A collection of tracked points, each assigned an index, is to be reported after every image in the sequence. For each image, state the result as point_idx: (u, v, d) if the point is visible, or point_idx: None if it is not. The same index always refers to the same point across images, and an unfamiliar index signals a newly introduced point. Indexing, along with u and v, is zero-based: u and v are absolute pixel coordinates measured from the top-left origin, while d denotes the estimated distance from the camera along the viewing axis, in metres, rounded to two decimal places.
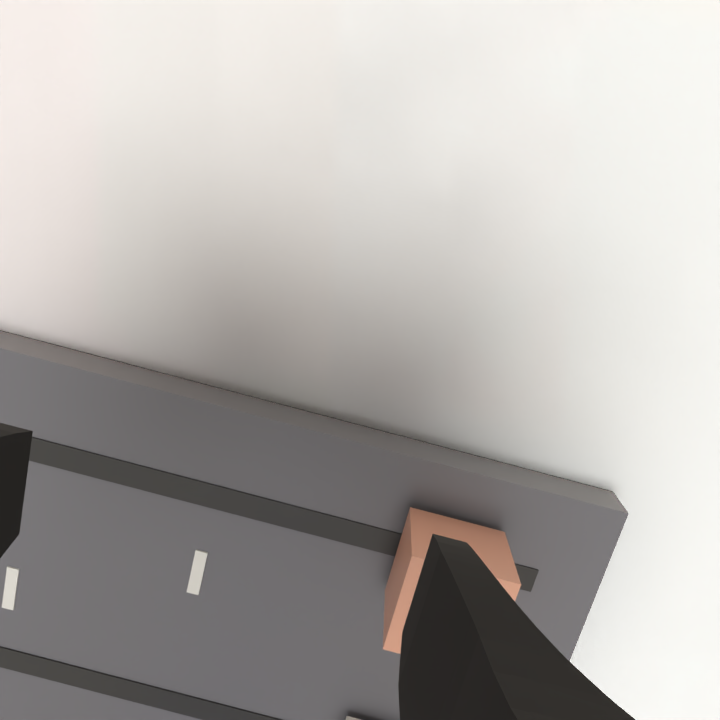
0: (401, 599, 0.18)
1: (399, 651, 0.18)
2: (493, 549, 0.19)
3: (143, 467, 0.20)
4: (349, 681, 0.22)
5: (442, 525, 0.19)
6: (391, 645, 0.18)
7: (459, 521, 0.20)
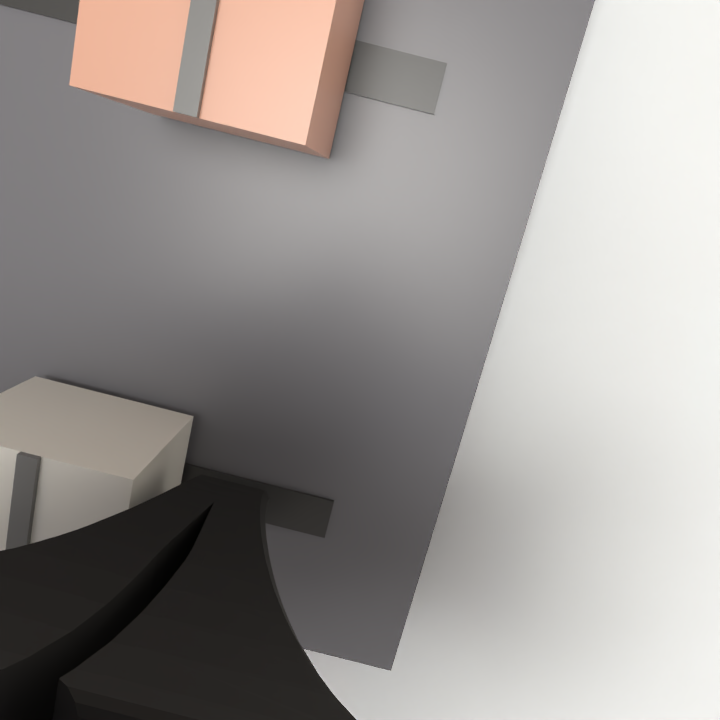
0: None
1: (106, 89, 0.08)
2: None
3: None
4: (114, 332, 0.12)
5: None
6: (86, 71, 0.08)
7: None
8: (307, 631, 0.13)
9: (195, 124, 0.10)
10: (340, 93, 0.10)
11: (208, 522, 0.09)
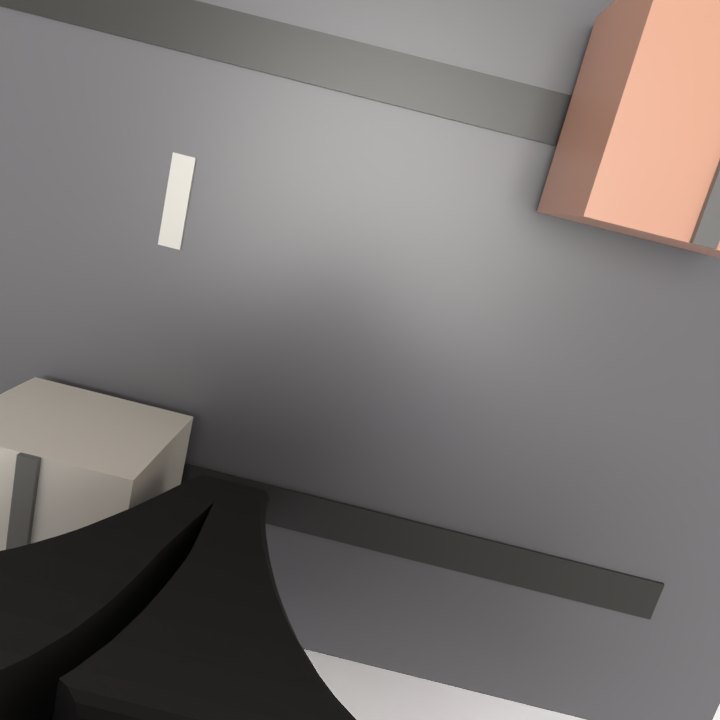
0: (634, 79, 0.08)
1: (621, 220, 0.08)
2: None
3: None
4: (458, 419, 0.12)
5: None
6: (604, 203, 0.08)
7: None
8: (618, 709, 0.13)
9: (587, 224, 0.11)
10: None
11: (208, 522, 0.09)
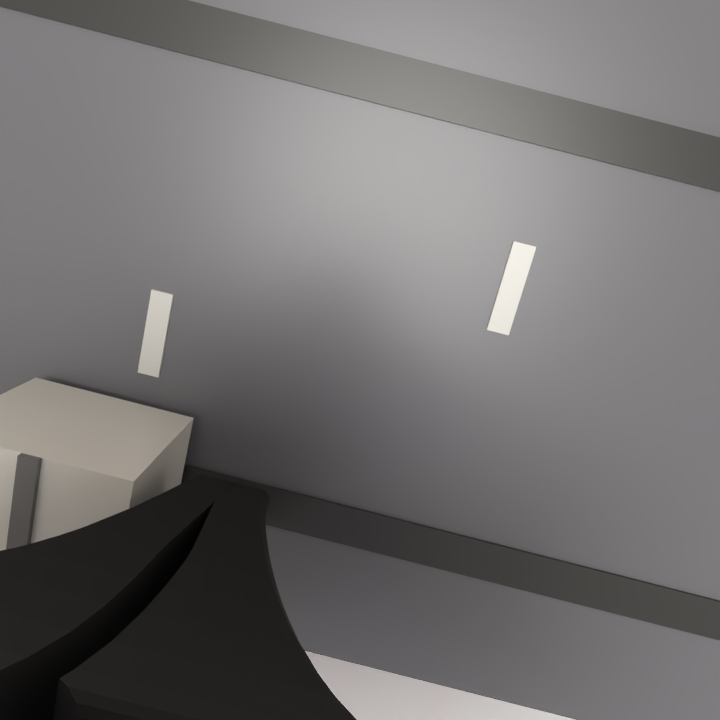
0: None
1: None
2: None
3: (429, 65, 0.11)
4: None
5: None
6: None
7: None
8: None
9: None
10: None
11: (208, 522, 0.09)
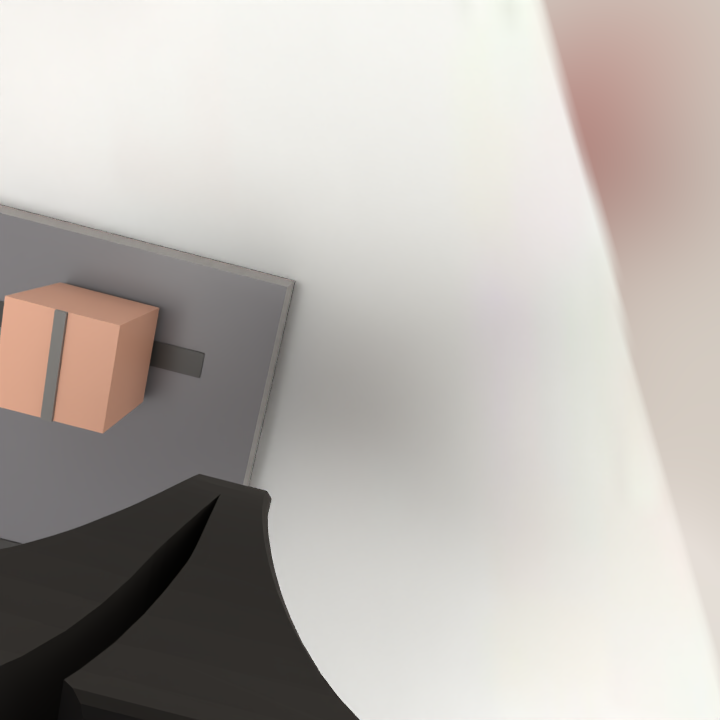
0: (2, 347, 0.17)
1: (9, 407, 0.17)
2: (123, 310, 0.18)
3: None
4: (31, 485, 0.21)
5: (83, 293, 0.19)
6: (0, 400, 0.17)
7: (110, 296, 0.19)
8: None
9: None
10: (143, 375, 0.19)
11: (211, 523, 0.09)
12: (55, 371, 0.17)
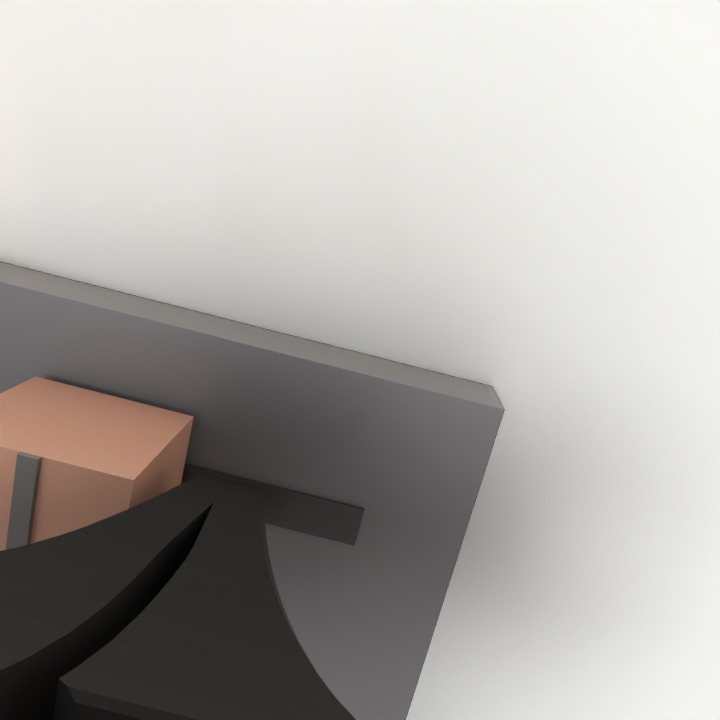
0: None
1: None
2: (137, 433, 0.11)
3: None
4: None
5: (70, 399, 0.11)
6: None
7: (115, 398, 0.12)
8: None
9: None
10: None
11: (208, 522, 0.09)
12: None
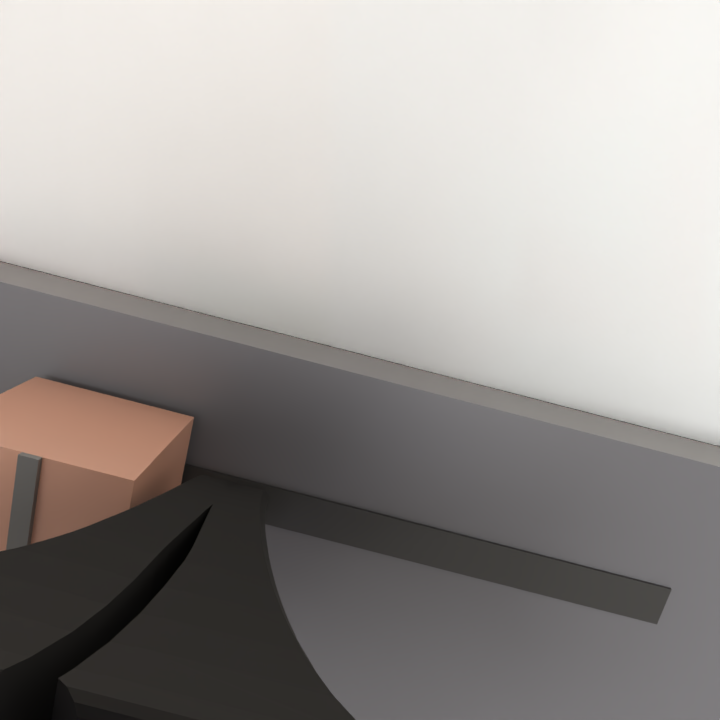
0: None
1: None
2: (138, 434, 0.11)
3: None
4: None
5: (71, 400, 0.11)
6: None
7: (116, 399, 0.12)
8: None
9: None
10: None
11: (208, 522, 0.09)
12: None
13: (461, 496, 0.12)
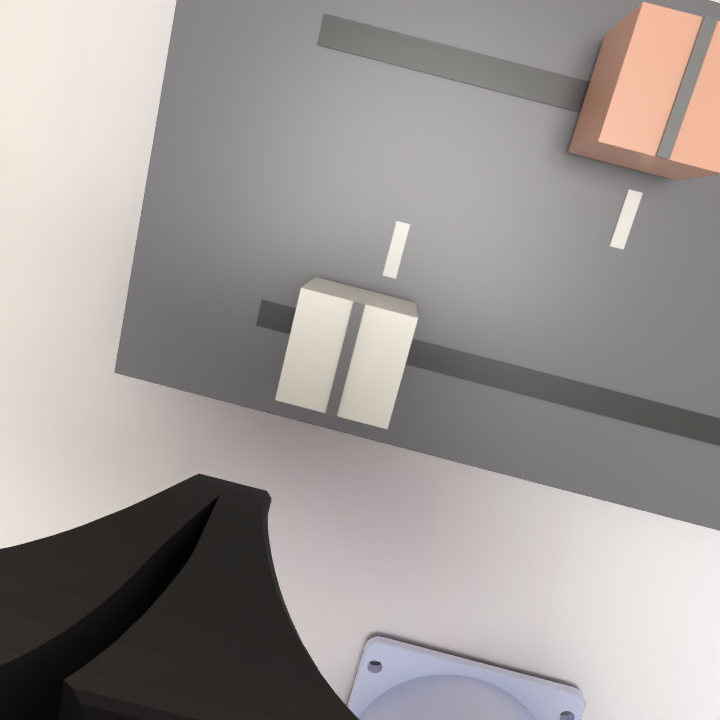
0: (625, 68, 0.15)
1: (618, 143, 0.15)
2: None
3: (580, 81, 0.17)
4: None
5: None
6: (609, 134, 0.15)
7: None
8: None
9: (599, 159, 0.17)
10: None
11: (210, 523, 0.09)
12: (683, 96, 0.15)
13: None
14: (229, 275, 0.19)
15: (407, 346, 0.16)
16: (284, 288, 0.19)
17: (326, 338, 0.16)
